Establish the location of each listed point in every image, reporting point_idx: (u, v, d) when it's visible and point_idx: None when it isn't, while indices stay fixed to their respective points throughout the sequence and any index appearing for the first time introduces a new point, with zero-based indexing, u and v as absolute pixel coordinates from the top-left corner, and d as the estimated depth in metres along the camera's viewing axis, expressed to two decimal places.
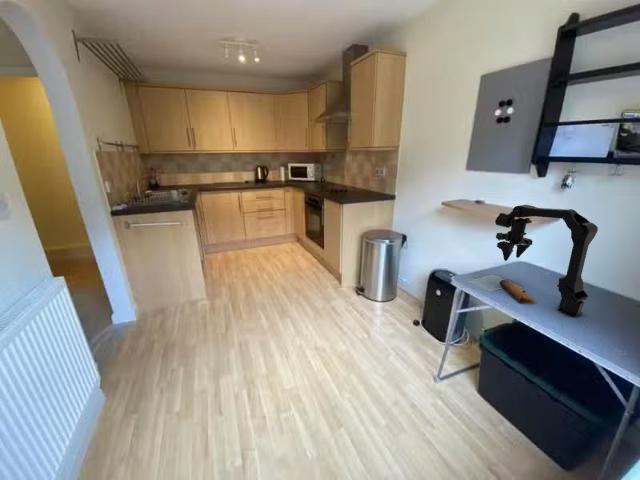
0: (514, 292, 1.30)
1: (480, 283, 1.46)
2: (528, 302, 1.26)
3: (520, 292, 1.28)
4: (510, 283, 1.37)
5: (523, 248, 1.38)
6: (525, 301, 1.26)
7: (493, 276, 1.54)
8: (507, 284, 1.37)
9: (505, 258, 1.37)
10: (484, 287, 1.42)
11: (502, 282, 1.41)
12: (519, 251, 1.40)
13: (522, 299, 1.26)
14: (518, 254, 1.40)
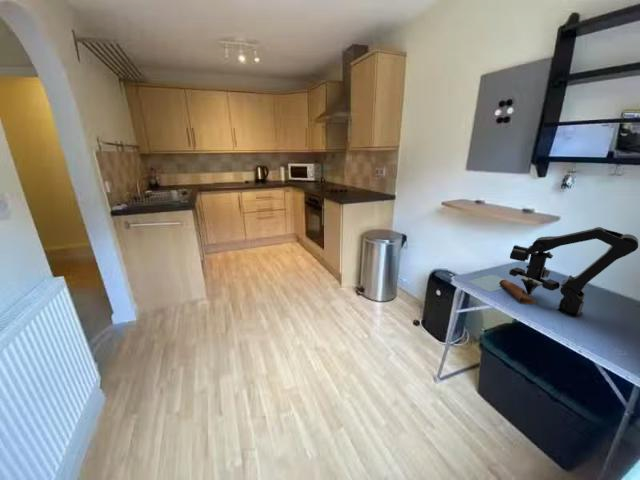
0: (514, 292, 1.30)
1: (480, 283, 1.46)
2: (528, 302, 1.26)
3: (520, 292, 1.28)
4: (510, 283, 1.37)
5: None
6: (525, 301, 1.26)
7: (493, 276, 1.54)
8: (507, 284, 1.37)
9: None
10: (484, 287, 1.42)
11: (502, 282, 1.41)
12: None
13: (522, 299, 1.26)
14: None
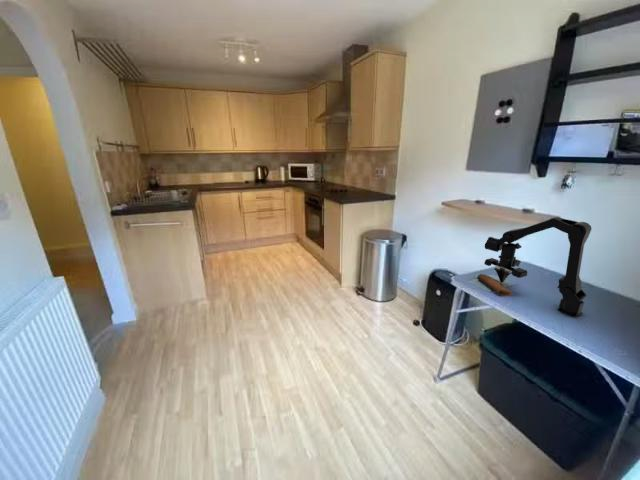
0: (492, 286, 1.37)
1: (480, 283, 1.46)
2: (506, 294, 1.33)
3: (498, 285, 1.35)
4: (487, 277, 1.44)
5: None
6: (503, 293, 1.33)
7: (493, 276, 1.54)
8: (484, 278, 1.44)
9: None
10: (484, 287, 1.42)
11: (480, 276, 1.47)
12: None
13: (501, 291, 1.33)
14: None
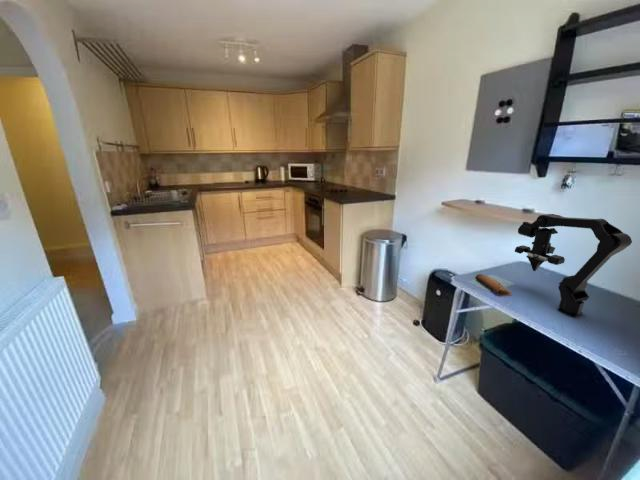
0: (491, 286, 1.37)
1: (480, 283, 1.46)
2: (505, 294, 1.34)
3: (497, 285, 1.35)
4: (486, 277, 1.44)
5: None
6: (503, 293, 1.33)
7: (493, 276, 1.54)
8: (483, 278, 1.44)
9: None
10: (484, 287, 1.42)
11: (478, 276, 1.47)
12: None
13: (500, 291, 1.33)
14: None
